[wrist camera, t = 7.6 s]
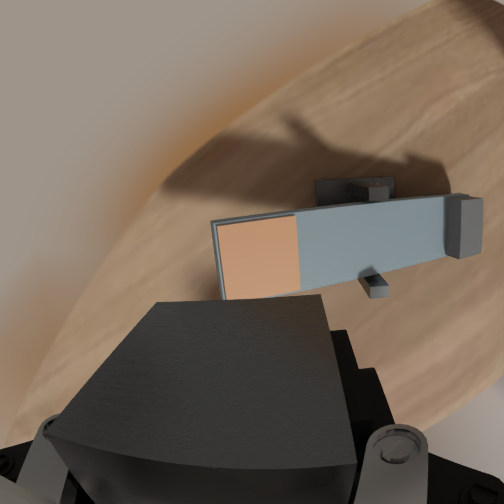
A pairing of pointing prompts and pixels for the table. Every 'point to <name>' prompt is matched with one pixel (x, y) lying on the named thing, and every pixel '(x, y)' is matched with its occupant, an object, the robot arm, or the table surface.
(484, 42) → the table surface
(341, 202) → the stand
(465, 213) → the beam
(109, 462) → the iron block
